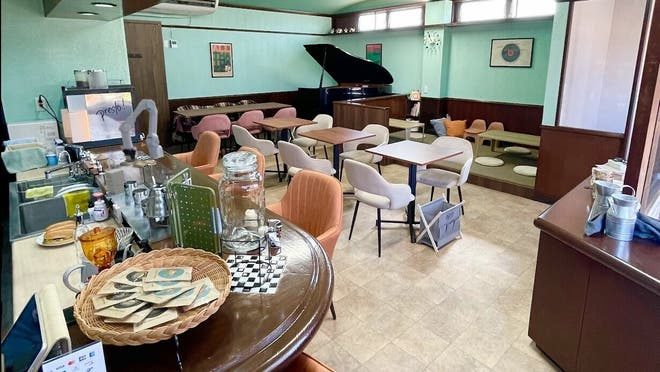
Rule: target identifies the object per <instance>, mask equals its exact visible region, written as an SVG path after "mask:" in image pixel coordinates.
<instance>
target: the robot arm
mask: <svg viewBox="0 0 660 372" xmlns="http://www.w3.org/2000/svg"><path fill="white" fill-rule="evenodd" d="M144 110H146V111H147V112H148V113H149V117H148V120H149V121H148V134H147V135H146V139H145V144H146V146H147V148H148V153H149V157H148V160H149V159H150V160H157V159H159V158H163V157H165V155H164V150H163V147H162V146H161V145H160V139H159V136H158V135H157V129H158V128H157V127H158V112H159V111H158V108H157V107H156V103H155V101H154V100H153V99H147V98H146V99H144V98H143V99H141V100H140V102H139V103H138V105H137V106H136V107H135V110H133V112H132V114H130V115H128V116H126V119H125V120H124V121H122V123H121V124H120V125H118V126H119V127H118V132H120V134H121V140H122V144H123V146H120V149H121V152H122V153H123V155H126V154H129V153H130V156H131V159H132V160H133V159H135V157H136V154H137V146H134V145H133V141H132V137H131V133H130V132H131V129H132V127H133V125H134V124H135V122H136V119H137V118H138V116H139V115H140V114H141V112H142V111H144ZM135 153H136V154H135Z"/></svg>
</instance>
